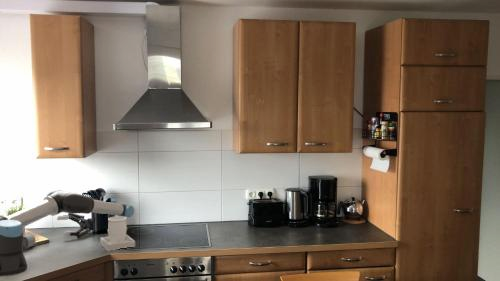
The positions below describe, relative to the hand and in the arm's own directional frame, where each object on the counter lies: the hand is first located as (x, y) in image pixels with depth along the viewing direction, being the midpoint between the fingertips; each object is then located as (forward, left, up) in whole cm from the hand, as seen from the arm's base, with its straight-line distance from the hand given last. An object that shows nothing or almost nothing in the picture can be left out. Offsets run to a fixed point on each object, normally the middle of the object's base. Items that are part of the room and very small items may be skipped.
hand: (61, 225), depth 262 cm
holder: (+26, -29, -8) cm, 40 cm away
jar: (+25, -29, -7) cm, 39 cm away
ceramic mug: (-21, -10, -8) cm, 25 cm away
